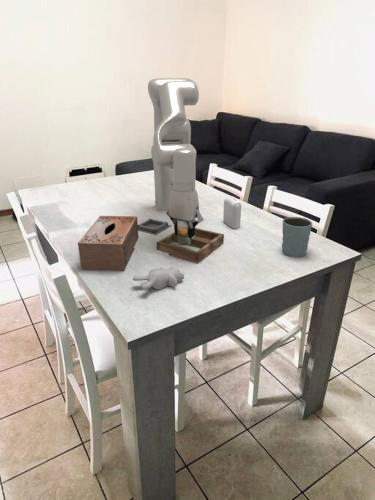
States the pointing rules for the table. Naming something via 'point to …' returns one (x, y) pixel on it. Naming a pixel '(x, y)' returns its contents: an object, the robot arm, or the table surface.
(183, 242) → the cell
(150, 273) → the bunny figurine
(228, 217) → the photo printer
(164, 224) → the tester cradle
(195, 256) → the wooden divided tray
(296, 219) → the green tapered cup
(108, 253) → the tissue box cover
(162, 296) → the table surface
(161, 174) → the robot arm
